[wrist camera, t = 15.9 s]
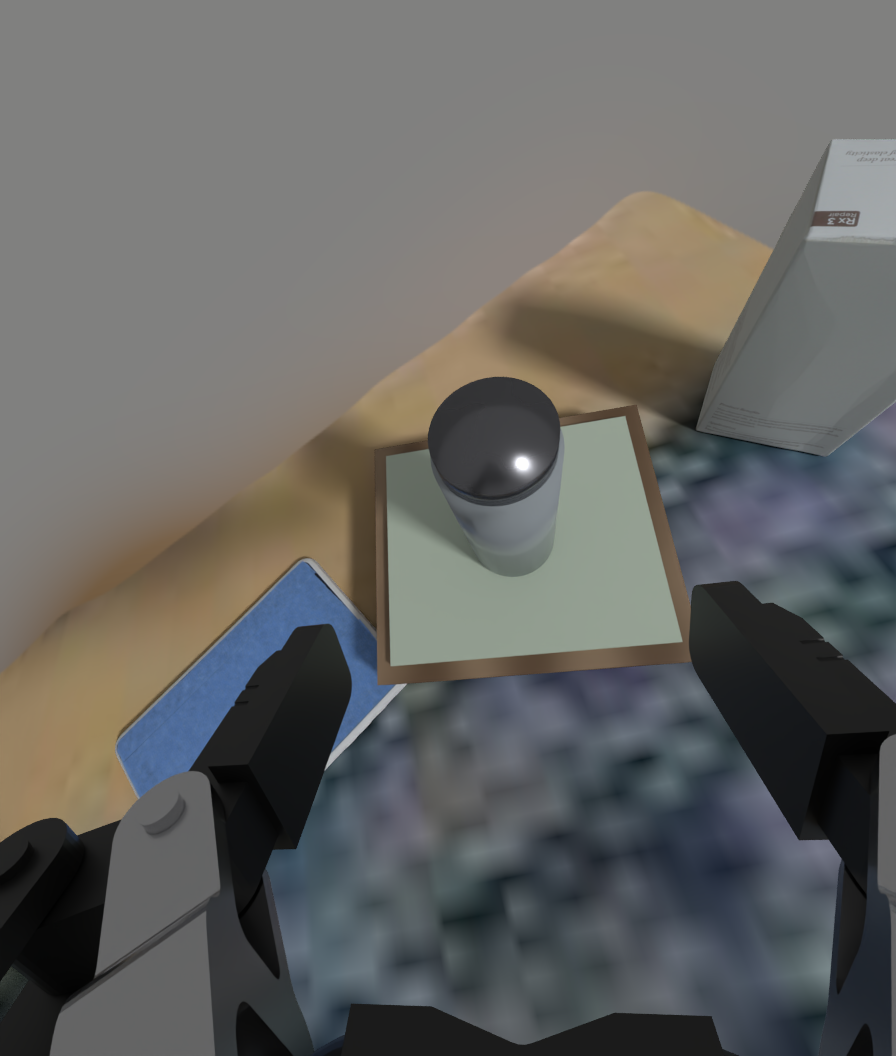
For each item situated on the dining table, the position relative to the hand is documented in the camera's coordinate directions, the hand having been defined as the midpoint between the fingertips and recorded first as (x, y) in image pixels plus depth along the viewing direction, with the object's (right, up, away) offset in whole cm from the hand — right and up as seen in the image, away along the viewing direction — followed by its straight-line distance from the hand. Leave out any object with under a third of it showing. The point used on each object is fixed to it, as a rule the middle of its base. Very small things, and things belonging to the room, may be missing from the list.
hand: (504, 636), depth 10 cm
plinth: (+3, +1, +20) cm, 20 cm away
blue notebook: (-14, -11, +21) cm, 27 cm away
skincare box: (+21, +10, +20) cm, 31 cm away
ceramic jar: (+3, +2, +16) cm, 17 cm away
